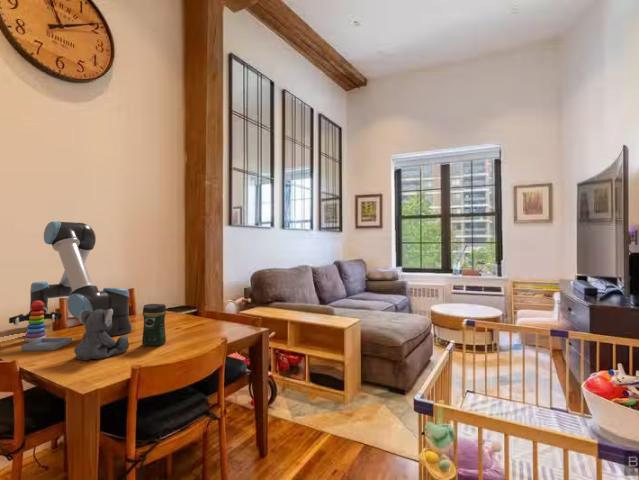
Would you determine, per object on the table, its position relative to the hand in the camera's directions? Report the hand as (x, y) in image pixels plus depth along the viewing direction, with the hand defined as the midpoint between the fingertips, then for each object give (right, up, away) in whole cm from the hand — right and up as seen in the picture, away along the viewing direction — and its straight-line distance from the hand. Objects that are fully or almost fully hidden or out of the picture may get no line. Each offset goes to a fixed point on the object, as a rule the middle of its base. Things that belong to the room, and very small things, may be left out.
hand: (35, 321), depth 168 cm
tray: (+14, -9, -10) cm, 19 cm away
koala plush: (+43, -9, -21) cm, 49 cm away
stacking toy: (+1, -9, -1) cm, 9 cm away
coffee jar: (+58, -10, -5) cm, 59 cm away
